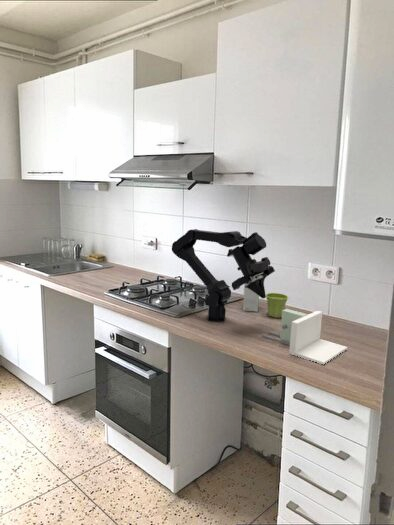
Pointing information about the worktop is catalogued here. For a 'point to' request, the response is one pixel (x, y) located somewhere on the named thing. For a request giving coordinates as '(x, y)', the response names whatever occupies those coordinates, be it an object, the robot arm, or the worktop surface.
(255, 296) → the skincare box
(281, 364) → the worktop surface
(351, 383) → the worktop surface
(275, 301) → the plant pot
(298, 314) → the door
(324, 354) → the white l-shaped stand
